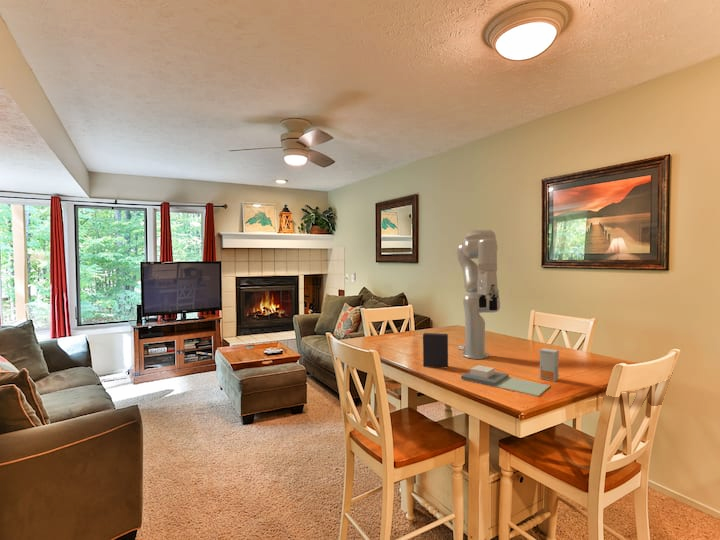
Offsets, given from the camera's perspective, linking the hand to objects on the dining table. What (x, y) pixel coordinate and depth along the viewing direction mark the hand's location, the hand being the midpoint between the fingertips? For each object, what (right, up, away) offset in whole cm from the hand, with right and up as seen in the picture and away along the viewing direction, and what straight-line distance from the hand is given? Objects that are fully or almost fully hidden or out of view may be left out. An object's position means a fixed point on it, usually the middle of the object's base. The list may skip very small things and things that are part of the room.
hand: (487, 308), depth 162 cm
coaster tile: (-3, -27, -3) cm, 27 cm away
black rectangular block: (-19, -28, +15) cm, 37 cm away
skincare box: (+23, -28, -5) cm, 37 cm away
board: (-2, -28, -4) cm, 29 cm away
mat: (+9, -29, -14) cm, 33 cm away
